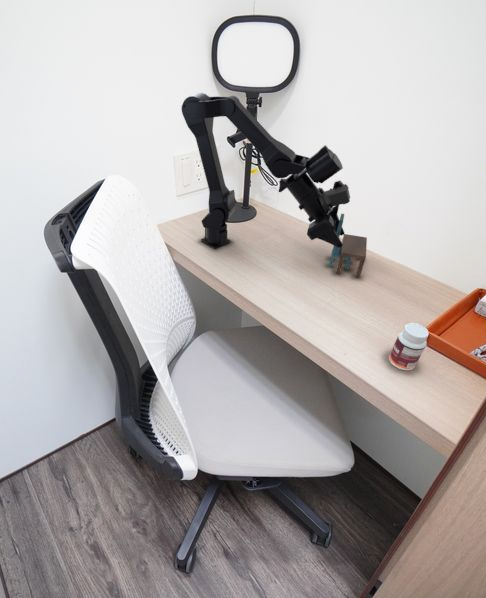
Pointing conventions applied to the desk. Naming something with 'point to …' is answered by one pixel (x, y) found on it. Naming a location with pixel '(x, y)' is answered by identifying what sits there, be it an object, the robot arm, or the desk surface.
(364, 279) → the desk surface
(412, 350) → the pill bottle
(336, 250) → the chair
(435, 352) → the desk surface
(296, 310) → the desk surface
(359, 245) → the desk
